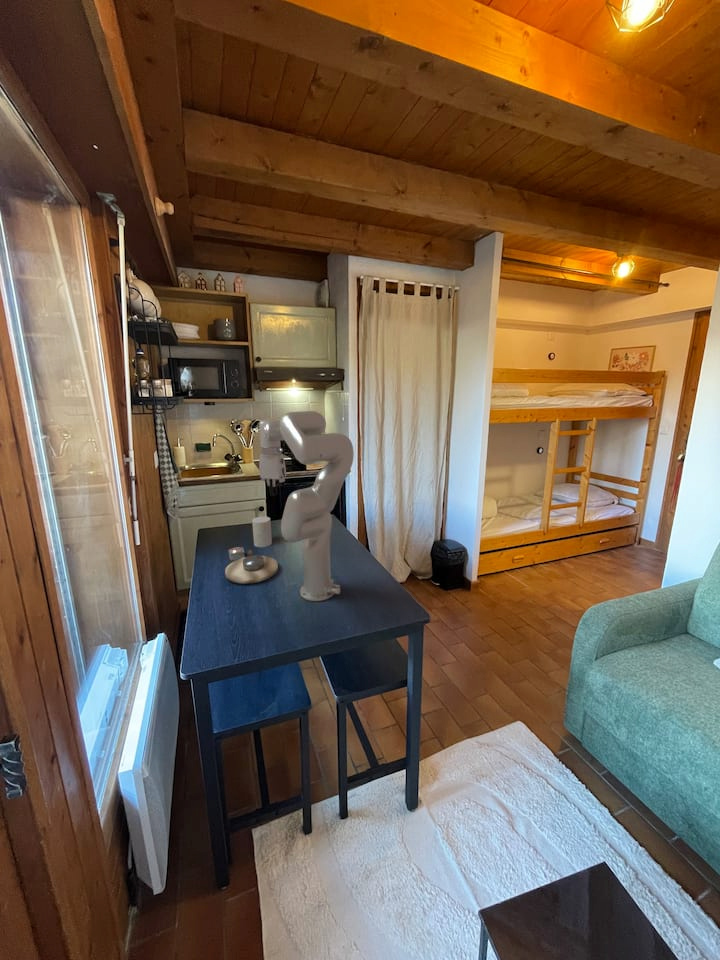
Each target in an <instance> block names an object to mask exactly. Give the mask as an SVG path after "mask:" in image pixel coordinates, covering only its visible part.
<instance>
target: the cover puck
mask: <svg viewBox="0 0 720 960" xmlns="http://www.w3.org/2000/svg"><path fill="white" fill-rule="evenodd" d="M262 556H263V555H259V554H258V555H256V554H255V555H253V554H252V556H249V557H248V556H245V557H246V558H245V559H243V569H244V570H245V571H249V572H253V571H258V570H260V569H262V568H263V567H264V558H263V557H262Z"/></svg>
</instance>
